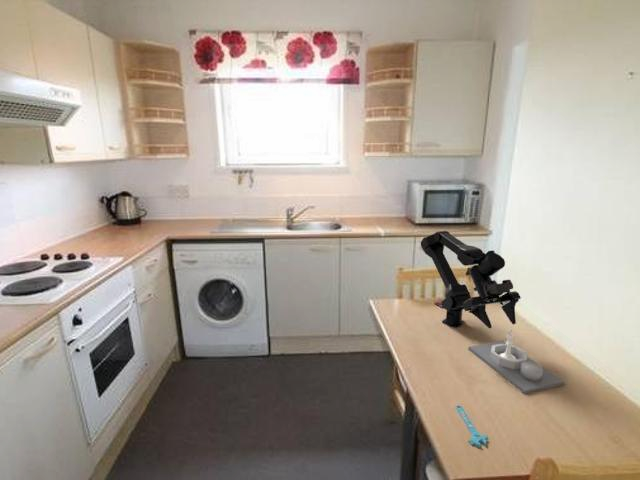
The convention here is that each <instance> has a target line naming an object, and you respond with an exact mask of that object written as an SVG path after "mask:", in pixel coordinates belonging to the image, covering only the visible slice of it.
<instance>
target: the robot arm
mask: <svg viewBox="0 0 640 480" xmlns="http://www.w3.org/2000/svg"><path fill="white" fill-rule="evenodd" d="M420 247H421V249H422V251H423V252H424V254H425V255H426V256H427V257H429V258H431V260H432V262H433V263H434V265H435V268H436V270H437V272H438V274H439V276H440V279H441V280H442V282H443V285H444V287H445V295H444V296H445V298H444V299H442V300H443V301H442V302H441V303H442V307H441V308H443V309H444V310H445V311H446V315H445V319H442V320H441V322H442V323H444V324H446V325H447V326H452V327H455V328H459V327H461V326H462V325H464V324H465V323H466V321H465V320H463V319H462V318H463V310H464V312H468V313H469V314H472V315H473V316H474V317H476V318H477V319H479V321H481V322H482V323H483V324H484V325H485V326H486V327H487V328H488V329H492V327H493V325H492V324H491V320H490V319H489V316H488V314H487V311H486V307H487V306H486V305H492V304H500V305H502V306H500V308H501V310H502V311H503V312H504V314H505V315H506V317H507V319H508V321H510V323H511V324H512V325H516V324H517V323H516V309H515V308H516V304H517V303H519V300H521V299H522V297H521V295H520V292H518V291H515V290H514V291H511V290H513V289H514V283H513V282H512V280H511V279H504V280H501V282H502V283H498V282H497V281H496V280H495V279H492V278H491V276H494V275H495V274H496V273H498V272H499V271H500V270H502V269H503V268H504V267H505V265H506V261H505V259H504V258H503V257H502V256H501V255H500V254H498V253H496V252H495V250H488V251H487V252H486V253H485V252H484V251H483V250H482V249H481V248H479V247H476V246H473V245H468V244H466V243H464V242H463V241H461V240H459V239H458V238H457V237H455V236H453V234H451V233H450V232H449V231H447V230H440V231H437V232H435V233H433V234H431V235H428V236H426V237H423V238H422V240H421V241H420ZM445 247H446V248H447V249H449V250H450V251H451V252H453V253H454V254H455V255H456V257H457V258H456V259H457V261H459V263H461V264H462V266H465V267H466V266H470V267H467V268H466V269H467V270H466V271H465V276H469V277H470V278H471V280H472V282H473V285H474V286H475V287H473V291H474V292H476V293H477V294H478V296H471V292H470V291H469V290H468V287H467V285H466V284H460V283H459V281H458V280H457V277H456V276H455V273H454V272H453V270H452V268H451V266H450V264H449V262H448V259H447V258H446V256H445V254H444V250H445Z"/></svg>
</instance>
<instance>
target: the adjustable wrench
mask: <svg viewBox="0 0 640 480" xmlns="http://www.w3.org/2000/svg"><path fill="white" fill-rule="evenodd" d="M455 408H456V411H457V412H458V414H459V416H460V417H461V419H462V420H463V423H465V425H466V428H467V429H468V431H469V432H470V435H471V439H469V440H468V443H469V444H470V446H475V447H476V448H480V447H483V446H484V445H485V446H484V447H486V446H487V443H489V439H488V435H487V434H481V433H479V431H478V430H477V429H476V427H475V426H474V424H473V422H472V421H471V419H470V417H469V416H468V414H467V413H466V411H465V409H464V408H463V406H462V405H459V404H458V405H455ZM463 412H464V413H463ZM462 414H463V416H464V417H465V419H464V417H463V416H462ZM464 414H465V415H464ZM466 417H467V418H466Z"/></svg>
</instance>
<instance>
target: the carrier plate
mask: <svg viewBox="0 0 640 480" xmlns="http://www.w3.org/2000/svg"><path fill="white" fill-rule="evenodd" d="M506 348H507V344H506V341H504V340H499V341H494V342H486V343H481V344H475V345H472V346H468V348H467V350H469V351H470V352H471V353H472V354H474V355H475V356H476V357H477V358H478V359H480V360H481V361H482V362H484V363H485V364H486V365H487V366H489V367H490V368H491V369H492V370H494V371H495V372H496V373H498V374H499V375H500V376H501V377H503V379H505V380H507V382H508V383H510V384H511V385H512V386H514V387H515V389H516V388H517V390H519V391H521V392H522V394H523V395H524V394H529V393H534V392H538V391H543V390H546V389H552V388H556V387H560V386H564V385H565V380H563V379H561V378H559V377H558V376H557V375H555V374H554V373H552V372H551V371H549V370H548V369H546V368H545V367H543V366H542V365H540V364H539V363H538V362H536V361H534V359H533V360H532V359H531V358H530V357H529V356H528V353H527V352H526V351H524V350H522V349H521V348H520V347H518V346H515V345H511V354H512V355H513V356H515V358H516V360H512V359H508V358H504V357H501V356H500V354H501V353H505V352H506Z"/></svg>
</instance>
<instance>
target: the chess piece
mask: <svg viewBox="0 0 640 480" xmlns="http://www.w3.org/2000/svg"><path fill="white" fill-rule="evenodd" d="M506 339H507V340H506V341H505V342H506V344H507V348H506V352H505V353H501V354H500V356H501V357H504V358H508V359H512V360H516V358H515V356H513V355H512V354H511V345H512V346H514V342H513V341H514V335H513V330H512V329H511V330H509V331H508V334H507V335H506Z"/></svg>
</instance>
